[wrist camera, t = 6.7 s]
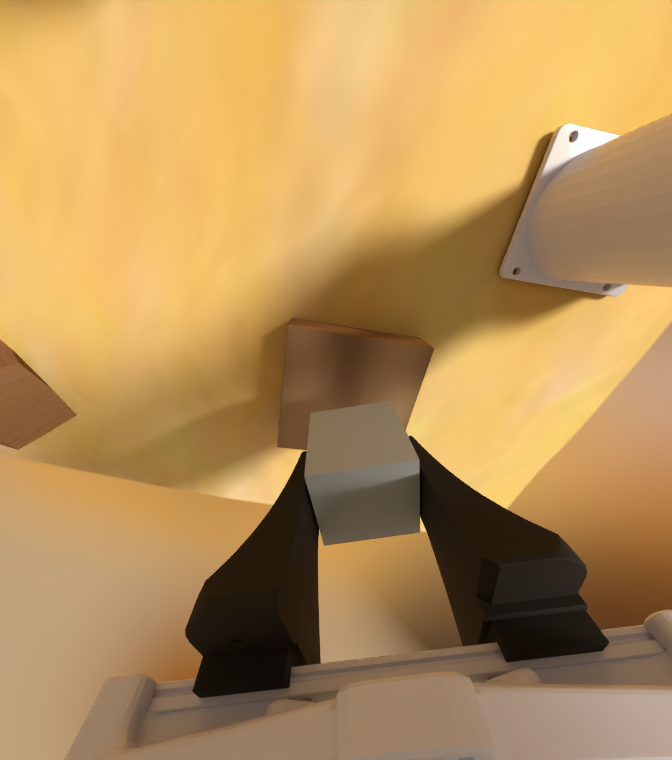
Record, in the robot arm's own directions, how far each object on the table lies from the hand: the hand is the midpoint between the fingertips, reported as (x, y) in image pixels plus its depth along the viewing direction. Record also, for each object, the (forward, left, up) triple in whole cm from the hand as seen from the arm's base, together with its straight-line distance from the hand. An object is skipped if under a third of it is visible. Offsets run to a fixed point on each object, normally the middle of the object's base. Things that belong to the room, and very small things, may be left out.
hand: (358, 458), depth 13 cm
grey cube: (0, 0, -2) cm, 2 cm away
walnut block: (0, 0, -9) cm, 9 cm away
